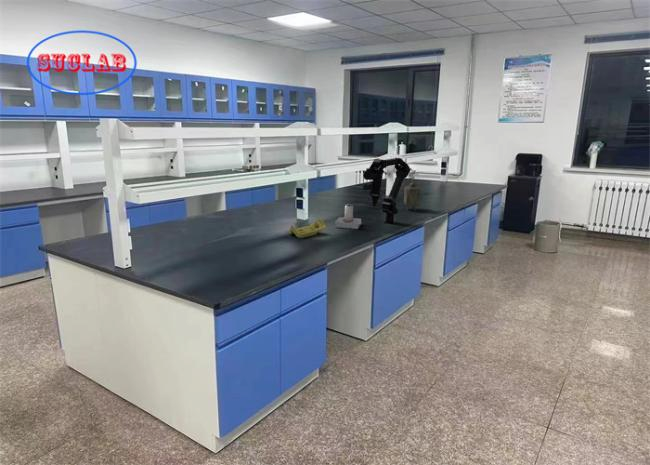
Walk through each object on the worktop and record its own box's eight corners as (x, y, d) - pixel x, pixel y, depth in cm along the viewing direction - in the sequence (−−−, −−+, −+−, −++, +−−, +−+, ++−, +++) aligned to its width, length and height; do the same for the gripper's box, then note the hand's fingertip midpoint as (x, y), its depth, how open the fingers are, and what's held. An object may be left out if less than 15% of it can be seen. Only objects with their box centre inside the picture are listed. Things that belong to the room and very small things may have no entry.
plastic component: (299, 234, 232) (290, 223, 237) (297, 245, 236) (288, 234, 242) (328, 227, 243) (319, 217, 248) (325, 237, 247) (316, 227, 253)
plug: (347, 222, 268) (348, 203, 265) (354, 224, 264) (354, 204, 261) (342, 224, 264) (343, 204, 261) (348, 225, 261) (349, 205, 258)
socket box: (339, 222, 273) (339, 215, 272) (361, 224, 270) (361, 217, 269) (334, 227, 259) (335, 220, 258) (357, 229, 256) (358, 222, 255)
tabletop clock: (418, 211, 312) (420, 177, 306) (405, 211, 312) (408, 177, 306) (414, 208, 326) (417, 175, 320) (402, 207, 326) (405, 175, 320)
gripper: (365, 178, 270) (363, 202, 273) (362, 179, 252) (359, 205, 255) (383, 179, 268) (380, 204, 271) (381, 181, 250) (378, 207, 253)
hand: (374, 205), depth 263 cm, fingers open, 9 cm apart
